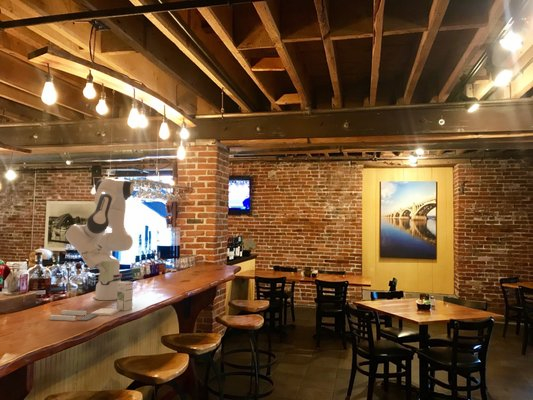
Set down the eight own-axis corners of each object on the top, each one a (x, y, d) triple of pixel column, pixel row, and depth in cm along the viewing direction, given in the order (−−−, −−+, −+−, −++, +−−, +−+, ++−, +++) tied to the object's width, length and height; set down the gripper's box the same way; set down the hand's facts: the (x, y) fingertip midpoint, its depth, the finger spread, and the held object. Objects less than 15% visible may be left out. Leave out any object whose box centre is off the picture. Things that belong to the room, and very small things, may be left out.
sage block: (103, 279, 204) (104, 260, 204) (113, 280, 203) (114, 260, 204) (99, 281, 199) (100, 261, 199) (108, 281, 198) (109, 261, 199)
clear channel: (63, 314, 196) (63, 310, 196) (98, 315, 195) (98, 311, 195) (50, 319, 185) (50, 315, 185) (87, 321, 184) (87, 316, 184)
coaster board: (100, 310, 206) (100, 308, 206) (119, 311, 205) (119, 309, 205) (91, 314, 196) (91, 312, 196) (110, 315, 195) (110, 313, 195)
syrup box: (132, 309, 210) (133, 281, 211) (123, 311, 205) (124, 283, 206) (125, 307, 213) (126, 280, 214) (116, 309, 208) (117, 281, 209)
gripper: (84, 248, 192) (103, 269, 191) (103, 245, 212) (120, 264, 211) (75, 257, 192) (94, 278, 191) (94, 253, 212) (111, 272, 211)
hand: (108, 271), depth 201 cm, fingers closed on sage block, 5 cm apart
